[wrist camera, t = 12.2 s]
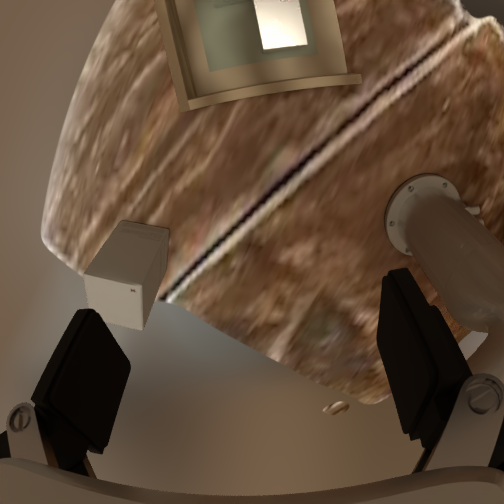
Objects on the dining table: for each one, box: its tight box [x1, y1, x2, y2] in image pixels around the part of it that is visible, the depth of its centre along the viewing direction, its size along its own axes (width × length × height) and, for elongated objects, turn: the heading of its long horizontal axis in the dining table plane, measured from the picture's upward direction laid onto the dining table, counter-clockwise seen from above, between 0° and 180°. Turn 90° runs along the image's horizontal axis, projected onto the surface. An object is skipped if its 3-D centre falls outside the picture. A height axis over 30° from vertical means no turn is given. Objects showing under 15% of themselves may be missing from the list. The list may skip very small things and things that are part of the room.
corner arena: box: [154, 0, 362, 112], centre depth 26 cm, size 18×16×6 cm
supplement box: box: [83, 221, 169, 331], centre depth 38 cm, size 7×7×13 cm
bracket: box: [210, 0, 307, 53], centre depth 24 cm, size 10×8×6 cm
